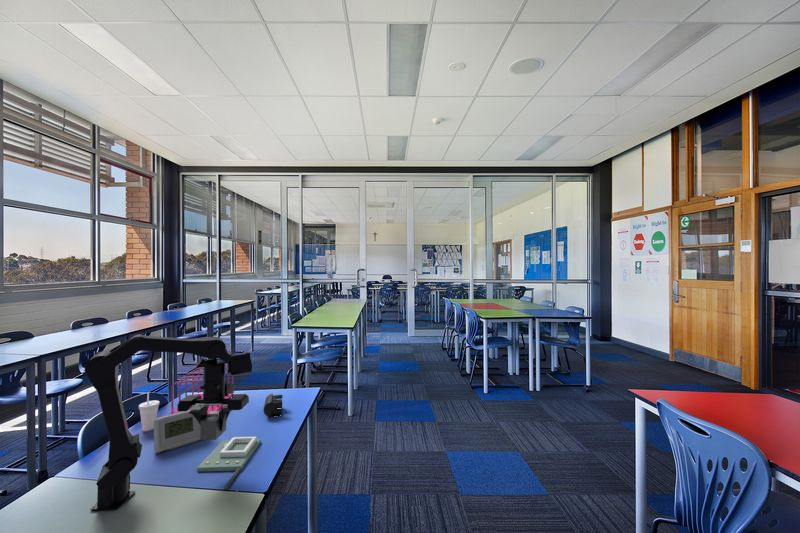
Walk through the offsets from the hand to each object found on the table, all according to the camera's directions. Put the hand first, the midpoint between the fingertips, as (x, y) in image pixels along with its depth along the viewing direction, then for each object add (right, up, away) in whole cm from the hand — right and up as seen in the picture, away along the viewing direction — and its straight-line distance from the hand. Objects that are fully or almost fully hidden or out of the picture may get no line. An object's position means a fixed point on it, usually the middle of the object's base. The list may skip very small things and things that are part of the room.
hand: (213, 430), depth 97 cm
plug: (0, -1, 0) cm, 1 cm away
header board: (+1, -13, +8) cm, 15 cm away
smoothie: (-40, -13, +25) cm, 49 cm away
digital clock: (-20, -13, +15) cm, 29 cm away
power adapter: (+2, -14, +40) cm, 42 cm away
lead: (+8, -12, -3) cm, 15 cm away
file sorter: (-32, -13, +47) cm, 58 cm away
